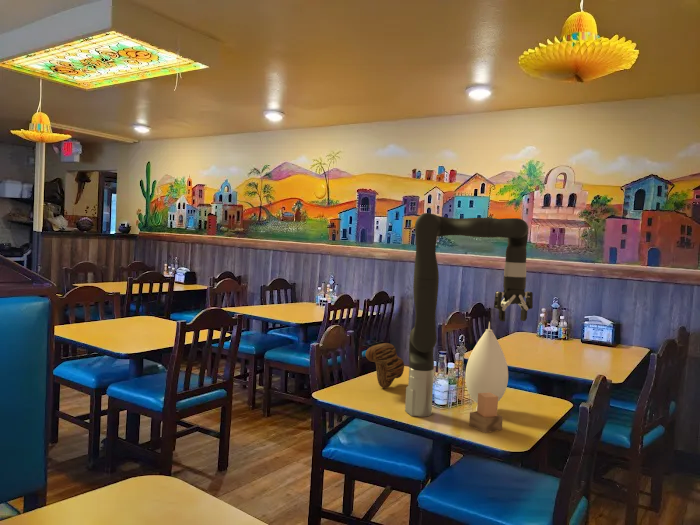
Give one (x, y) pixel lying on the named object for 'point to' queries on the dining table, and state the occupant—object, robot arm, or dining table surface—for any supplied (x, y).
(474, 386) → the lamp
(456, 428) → the dining table surface
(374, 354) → the sculpture
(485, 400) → the light wooden cube
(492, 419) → the walnut block
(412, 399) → the robot arm
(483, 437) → the dining table surface
